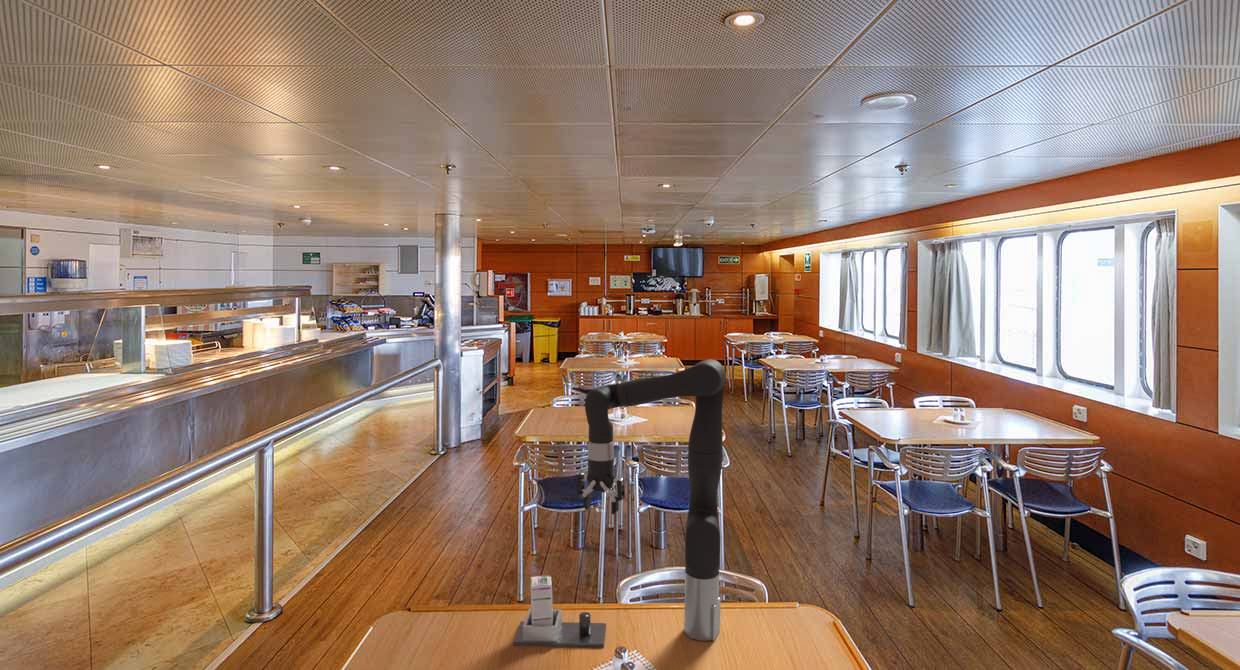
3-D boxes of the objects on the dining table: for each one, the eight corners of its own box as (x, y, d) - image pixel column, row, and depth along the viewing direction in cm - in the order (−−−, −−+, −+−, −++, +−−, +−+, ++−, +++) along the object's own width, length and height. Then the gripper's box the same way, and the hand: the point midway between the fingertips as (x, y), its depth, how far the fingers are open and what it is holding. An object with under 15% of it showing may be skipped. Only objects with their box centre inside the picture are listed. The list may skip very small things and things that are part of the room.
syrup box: (553, 636, 169) (553, 584, 167) (531, 638, 168) (530, 586, 166) (552, 624, 174) (552, 574, 173) (530, 626, 173) (530, 576, 172)
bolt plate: (606, 626, 175) (606, 606, 175) (604, 647, 165) (604, 625, 165) (520, 624, 176) (520, 604, 176) (513, 645, 166) (513, 623, 166)
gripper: (628, 455, 180) (628, 510, 181) (585, 450, 186) (585, 503, 187) (617, 462, 173) (617, 519, 175) (572, 456, 179) (572, 511, 181)
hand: (600, 511), depth 181 cm, fingers open, 8 cm apart
